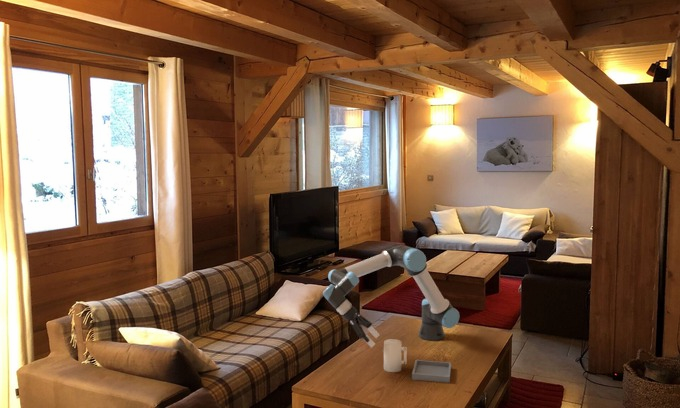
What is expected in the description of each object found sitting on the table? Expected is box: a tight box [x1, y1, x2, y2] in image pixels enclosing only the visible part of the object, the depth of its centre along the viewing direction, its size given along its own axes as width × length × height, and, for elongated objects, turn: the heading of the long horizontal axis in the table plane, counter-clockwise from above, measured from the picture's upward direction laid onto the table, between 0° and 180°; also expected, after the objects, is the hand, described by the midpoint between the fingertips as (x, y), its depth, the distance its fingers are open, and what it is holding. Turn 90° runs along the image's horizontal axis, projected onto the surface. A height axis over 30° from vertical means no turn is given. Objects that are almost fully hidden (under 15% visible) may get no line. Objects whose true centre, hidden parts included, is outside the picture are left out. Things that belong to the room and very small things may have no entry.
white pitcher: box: [383, 338, 408, 373], centre depth 287 cm, size 9×12×14 cm
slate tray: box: [411, 359, 452, 384], centre depth 281 cm, size 18×18×3 cm
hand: (375, 341), depth 288 cm, fingers open, 13 cm apart
